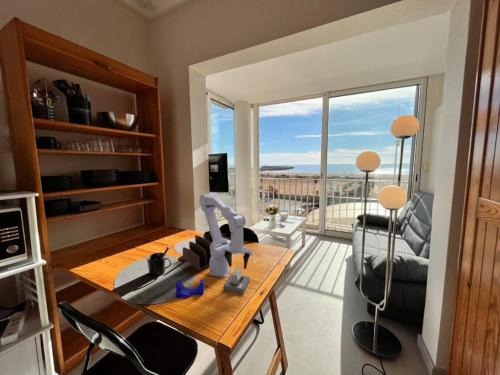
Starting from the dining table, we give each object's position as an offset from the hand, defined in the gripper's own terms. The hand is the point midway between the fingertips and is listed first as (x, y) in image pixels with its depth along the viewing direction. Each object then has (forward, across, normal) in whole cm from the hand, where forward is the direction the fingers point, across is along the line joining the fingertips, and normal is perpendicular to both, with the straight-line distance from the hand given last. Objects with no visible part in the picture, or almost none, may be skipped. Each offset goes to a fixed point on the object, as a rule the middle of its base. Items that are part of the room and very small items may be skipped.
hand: (237, 266), depth 100 cm
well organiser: (+9, 0, -1) cm, 9 cm away
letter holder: (+10, -31, +16) cm, 36 cm away
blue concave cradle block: (+10, -19, -12) cm, 25 cm away
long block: (+9, 0, -1) cm, 9 cm away
